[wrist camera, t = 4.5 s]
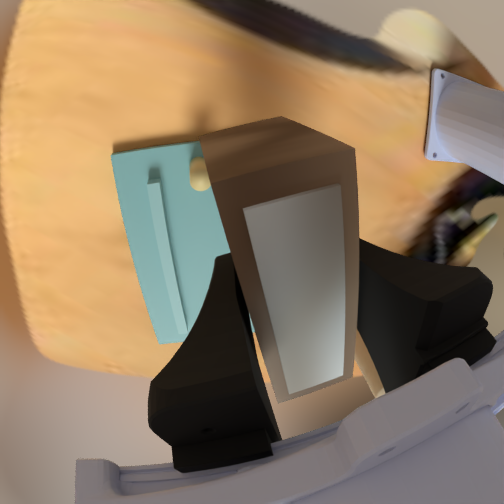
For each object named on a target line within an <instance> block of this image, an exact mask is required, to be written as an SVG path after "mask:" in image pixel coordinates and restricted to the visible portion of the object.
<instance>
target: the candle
mask: <svg viewBox="0 0 504 504" xmlns="http://www.w3.org/2000/svg"><path fill="white" fill-rule="evenodd" d="M354 359H355V361H356V362H357V364H358V366H359V368H360V370H361V372H362V374H363V376H364V377H365V379H366V381H367V383H368V385H369V387H370V389H371V391H372V393H373V395H374V397H375V398H377V397H380V396H382V395H384V394H386V393H385V391H384V388H383V385H382V383H381V380H380V378H379V375H378V373H377V370H376V368H375V365H374V363H373V361H372V359H371V357H370V354H369V352H368V350H367V348H366V346H365V344H364V342H363V340H362V338H361V336H360V334H359V332H358V330H357V331H356V345H355V356H354Z"/></svg>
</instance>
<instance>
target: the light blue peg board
mask: <svg viewBox="0 0 504 504" xmlns="http://www.w3.org/2000/svg"><path fill="white" fill-rule="evenodd" d="M111 160H112V166H113V172H114V177H115V183H116V188H117V193H118V198H119V203H120V208H121V212H122V217H123V221H124V226H125V230H126V234H127V238H128V242H129V246H130V250H131V254H132V258H133V262H134V265H135V269H136V273H137V276H138V280H139V283H140V287H141V290H142V293H143V297H144V300H145V303H146V306H147V310H148V313H149V316H150V319H151V322H152V325H153V328H154V331H155V334H156V337H157V340H158V342H159V344H167V343H177V342H184V340H185V339H186V337H187V335H188V334H189V332H190V330H191V328H192V327H193V325H194V323H195V321H196V319H197V317H198V315H199V312H200V310H201V308H202V305H203V302H204V300H205V297H206V294H207V291H208V288H209V284H210V281H211V277H212V273H213V268H214V260H215V258H216V257H217V256H220V255H223V254H227V253H230V249H229V245H228V242H227V239H226V235H225V232H224V229H223V225H222V222H221V218H220V215H219V211H218V208H217V205H216V201H215V198H214V194H213V191H212V187H211V184H210V180H209V176H208V172H207V168H206V164H205V160H204V156H203V152H202V148H201V144H200V141H193V142H184V143H176V144H168V145H160V146H153V147H147V148H140V149H134V150H128V151H122V152H117V153H113V154H112V155H111ZM249 316H250V314H249ZM250 321H251V318H250ZM251 327H252V332H255V330H254V327H253V324H252V321H251Z"/></svg>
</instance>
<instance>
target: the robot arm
mask: <svg viewBox="0 0 504 504" xmlns="http://www.w3.org/2000/svg"><path fill="white" fill-rule="evenodd" d="M441 74H442V77H441ZM433 153H434V155H433ZM425 158H426V159H428V160H436V161H448V162H460V163H465V164H467V165H469V166H471V167H473V168H475V169H477V170H479V171H481V172H482V173H484V174H486V175H488V176H490V177H492V178H493V179H495V180H497V181H499V182H500V183H502V184H504V92H503V91H500V90H496V89H492V88H488V87H485V86H483V85H481V84H478V83H476V82H473V81H471V80H468V79H466V78H463V77H460V76H458V75H455V74H452V73H449V72H447V71H444V70H441V69H436V68H434V69H433V70H432V81H431V98H430V111H429V121H428V130H427V139H426V146H425ZM492 291H493V285H492V281H491V280H490V279H489V278H487V277H486V276H485V275H484V274H483V273H482V272H481V271H480V270H479V269H478V268H476V267H461V266H450V265H443V264H437V263H431V262H426V261H422V260H418V259H414V258H410V257H406V256H403V255H400V254H397V253H394V252H391V251H388V250H386V249H383V248H381V247H378V246H376V245H373V244H371V243H369V242H366V241H364V240H362V239H360V238H359V293H358V315H357V330H358V332H359V334H360V336H361V338H362V340H363V342H364V344H365V346H366V348H367V350H368V352H369V354H370V357H371V359H372V361H373V363H374V365H375V368H376V370H377V373H378V375H379V378H380V380H381V383H382V385H383V388H384V391H385V393H386V394H384V395H382V396H380V397H377V398H375V399H373V400H371V401H370V402H368V403H366V404H364V405H362V406H361V407H358V408H357V409H356V410H355V411H353V412H352V413H351V414H349V415H348V416H346V417H345V418H344V419H343V420H341V421H338V422H336V423H333V424H331V425H328V426H325V427H322V428H319V429H316V430H313V431H310V432H307V433H304V434H301V435H298V436H295V437H292V438H288V439H285V440H282V438H281V435H280V432H279V429H278V426H277V422H276V419H275V416H274V413H273V410H272V406H271V403H270V400H269V397H268V393H267V390H266V387H265V383H264V380H263V377H262V373H261V370H260V367H259V363H258V359H257V354H256V349H255V343H254V338H253V332H252V327H251V321H250V316H249V311H248V308H247V305H246V301H245V298H244V295H243V292H242V288H241V285H240V282H239V279H238V275H237V272H236V269H235V265H234V262H233V259H232V255H231V252H230V253H227V254H223V255H220V256H217V257H216V258H215V260H214V268H213V273H212V277H211V281H210V284H209V288H208V291H207V294H206V297H205V300H204V302H203V305H202V308H201V310H200V312H199V315H198V317H197V319H196V321H195V323H194V325H193V327H192V328H191V330H190V332H189V334H188V335H187V337H186V339H185V340H184V342H183V344H182V345H181V346H180V348H179V349H178V351H177V352H176V353H175V355H174V356H173V358H172V359H171V360H170V361H169V363H168V364H167V365H166V366H165V367H164V368H163V369H162V370H161V372H160V373H159V374H158V375H157V376H156V377H155V378H154V379H153V380H152V381H151V384H150V390H149V397H148V423H149V427H150V428H151V430H152V431H153V432H154V433H155V434H157V435H158V436H159V437H160V438H161V439H163V440H164V441H165V442H167V443H168V444H169V445H170V446H172V455H173V463H164V464H154V465H142V466H122V467H119V466H118V465H116V464H115V463H113V462H111V461H109V460H105V459H77V460H76V476H75V504H504V429H503V428H502V426H501V424H500V423H499V421H498V420H497V418H496V416H495V415H496V414H497V413H498V412H499V411H500V410H501V409H503V408H504V330H503V331H502V332H501V333H499V334H498V335H497V336H495V337H493V336H492V334H490V332H489V331H488V330H487V329H486V327H487V326H488V322H487V321H486V320H485V319H484V317H483V316H484V314H485V312H486V309H487V307H488V304H489V302H490V299H491V296H492Z"/></svg>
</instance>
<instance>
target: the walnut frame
mask: <svg viewBox="0 0 504 504" xmlns="http://www.w3.org/2000/svg"><path fill="white" fill-rule="evenodd" d="M199 140H200V144H201V148H202V152H203V156H204V160H205V164H206V168H207V172H208V176H209V180H210V184H211V187H212V191H213V194H214V198H215V201H216V205H217V208H218V211H219V215H220V218H221V222H222V225H223V229H224V232H225V235H226V239H227V242H228V245H229V249H230V252H231V255H232V259H233V262H234V265H235V269H236V272H237V275H238V279H239V282H240V285H241V288H242V292H243V295H244V298H245V301H246V305H247V308H248V311H249V314H250V318H251V321H252V324H253V327H254V330H255V333H256V337H257V340H258V343H259V346H260V349H261V352H262V356H263V359H264V362H265V365H266V368H267V371H268V374H269V377H270V380H271V383H272V386H273V390H274V393H275V396H276V399H277V402H278V403H281V402H284V401H287V400H290V399H294V398H297V397H300V396H303V395H306V394H309V393H312V392H314V391H317V390H320V389H323V388H326V387H328V386H331V385H333V384H336V383H339V382H341V381H344V380H347V379H349V378H352V376H353V367H354V356H355V345H356V331H357V315H358V293H359V208H358V186H357V170H356V156H355V148H353V147H351V146H349V145H347V144H345V143H343V142H341V141H338V140H336V139H334V138H332V137H330V136H327V135H325V134H323V133H321V132H318V131H316V130H314V129H311V128H309V127H307V126H304V125H302V124H300V123H297V122H295V121H292V120H290V119H287V118H285V117H282V116H281V117H276V118H271V119H266V120H262V121H257V122H253V123H249V124H244V125H240V126H236V127H232V128H228V129H225V130H221V131H217V132H213V133H210V134H206V135H203V136H199Z"/></svg>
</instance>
